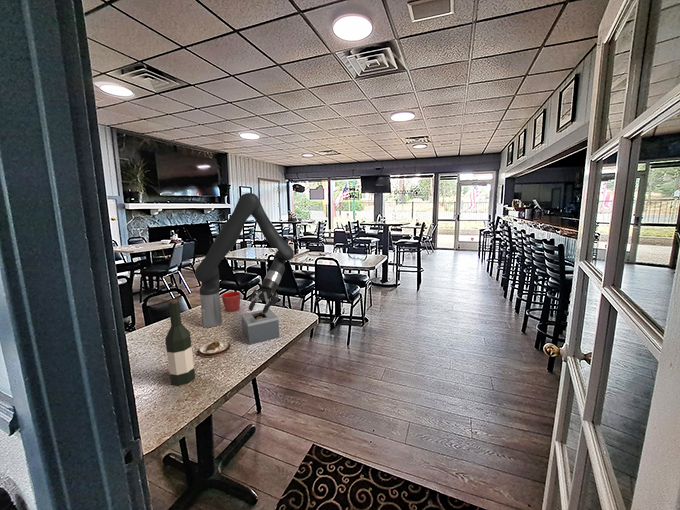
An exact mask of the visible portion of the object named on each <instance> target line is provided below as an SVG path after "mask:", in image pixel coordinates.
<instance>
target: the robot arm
mask: <svg viewBox="0 0 680 510" xmlns="http://www.w3.org/2000/svg"><path fill="white" fill-rule="evenodd" d="M250 216H252V217H253V218H254V220H255V222H256V223H257V225H258V228H259V229H260V231H261V233H262V235H263V236H264V238H265V240H266V242H268V245H269V246H270V247H271V248H275V249H276V250H277V251H276V253H275V254H274V255H273V260H272V264H271V266H270V267H269V270H268V271H267V272H266V275H265V277H264V279H263V281H262V282H261V284H260V289H259V290H257V289H253V291H252V292H251V294H250V296H249V298H248V301H250V303H249V306H248V310H249V311H250V312H253V310H254V307H255V306H256V304H257V303H259V302H261V301H264V302H265V304H264V307H263V308H262V310H263V311H262V312H263V313H265V314H266V312H267V311H268V309H270V308H271V307H274V306H275V305H276V302H277V300H278V298H279V294H278V293H277V292H276V291H277V289H278V287H279V284H280V283H281V280H282V277H283V275H284V273H285V271H286V267H285V263H287V262H288V261H291V260H292V259H293V258H294V256H295V252H294V250H293V248H292V247H291V246H290V245H289V243H288V242H286V241H285V239H283V238H282V236H281V234H280V233H279V232H278V230H277V229H276V226H274V224H273V223H272V222H271V220H270V218H269V217H268V215H267V212H265V209H264V207H263V205H262V203H261V201H260V199H259V197H258V195H256V194H255V193H254V192H253V193H252V192H246V193H243V194H241V196H240V197H239V198H238V200H237V203H236V206H234V209H233V211H232V214H231V215H230V217H229V218H228V219H227V221H226V222H225V223H224V224H223V226H222V228H220V231H219V232H218V234H217V236H216V237H215V239H214V240H213V243H212V244H211V246H210V248H209V249H208V252H207V254H206V255H205V256H204V258H203V259H202V261H201V262H200V263H199V264H198V266H197V267H196V269H195V272H194V274H195V275H194V276H195V278H196V279H197V281H199V282H200V283H201V285H200V288H199V297H200V298H199V299H200V306H201V307H200V310H201V319H202V326H203V328H214V327H218V326H220V325H222V324H223V317H222V309H221V308H222V307H221V306H222V305H221V297H220V284H221V283H220V271H219V267H218V266H219V265H220V263H221V261H222V260H223V259H224V258H225V257H226V256H227V255H228V254H229V252H230V251H231V250H232V249H233V247H234V246H235V245H236V243H237V242H238V240H239V238H240V236H241V233H242V232H243V229H244V225H245V224H246V222H247V221H248V219H249V218H250Z"/></svg>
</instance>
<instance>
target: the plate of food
mask: <svg viewBox="0 0 680 510" xmlns="http://www.w3.org/2000/svg"><path fill="white" fill-rule="evenodd" d="M229 350H230V351H231V350H232V348H231V344H230V343H229V342H227V341H225V340H220V339H218V340H212V341H209V342H207V343H204V344H203V345H201V346H200V347H199V349H198V354H199V355H200V356H201V357H203V358H208V359H212V358H216V357H220V356H222V355H224V354H227V353H228V351H229Z"/></svg>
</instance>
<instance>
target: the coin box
mask: <svg viewBox="0 0 680 510" xmlns="http://www.w3.org/2000/svg"><path fill="white" fill-rule="evenodd" d="M262 311H263V309H261V310H256V311H250V312H246V313H241V314H240V320H241V329H242V330H241V331H242V335H243V336H244V338H245V340H246V342H247V344H248V345H249V346H251V345H257V344H260V343H263V341H264V342H268V341H271V340H270V339H272V340H276V339H279V337H280V326H279V325H280V322H279V317H278V315H277V314H275V312H273V310H272V309H270V308H269V309H268V311H267V312H266V314H265V313H263V312H262ZM258 316H262V317H263V318H262V319H257V320H256V317H258ZM275 338H276V339H275ZM267 340H268V341H267ZM259 342H260V343H259Z"/></svg>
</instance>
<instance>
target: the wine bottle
mask: <svg viewBox="0 0 680 510" xmlns="http://www.w3.org/2000/svg"><path fill="white" fill-rule="evenodd" d="M168 311H169V317H170V327H169V330H168V332H167V334H166V336H165V339H164V340H165V348H166V355H167V363H168V370H169V376H170V383H171V385H172V386H178V387H179V386H183V385H188V384H189V383H191V382H192V381H194V380H195V379H196V373H195V363H194V354H193V349H192V348H193V347H192V339H191V338H192V337H191V332H190V330H188V329H187V327H186V326H185V325H184V324H183V323H182V316H181V308H180V301H178V299H176V298H174V299H170V300H169V302H168Z"/></svg>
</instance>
